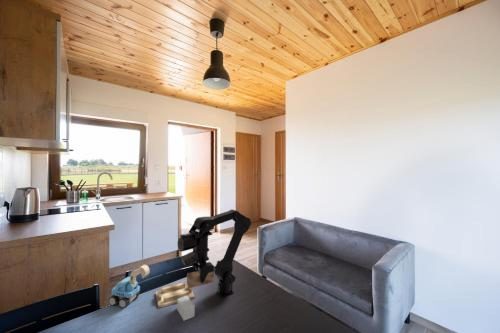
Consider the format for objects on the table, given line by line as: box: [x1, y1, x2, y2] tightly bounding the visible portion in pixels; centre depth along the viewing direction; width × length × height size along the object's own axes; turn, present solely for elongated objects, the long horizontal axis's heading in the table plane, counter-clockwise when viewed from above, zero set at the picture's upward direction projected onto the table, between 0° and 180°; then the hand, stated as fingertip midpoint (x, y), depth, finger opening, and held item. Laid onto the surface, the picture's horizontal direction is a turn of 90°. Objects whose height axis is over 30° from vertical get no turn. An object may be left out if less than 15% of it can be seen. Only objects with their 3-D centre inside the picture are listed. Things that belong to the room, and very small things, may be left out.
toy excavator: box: [108, 264, 151, 309], centre depth 98 cm, size 9×17×17 cm, turn 78°
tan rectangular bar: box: [186, 270, 215, 289], centre depth 98 cm, size 11×4×4 cm, turn 121°
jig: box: [155, 282, 196, 309], centre depth 103 cm, size 16×12×3 cm
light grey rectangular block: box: [176, 296, 196, 321], centre depth 92 cm, size 9×4×4 cm, turn 36°
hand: (200, 280), depth 98 cm, fingers closed on tan rectangular bar, 4 cm apart
